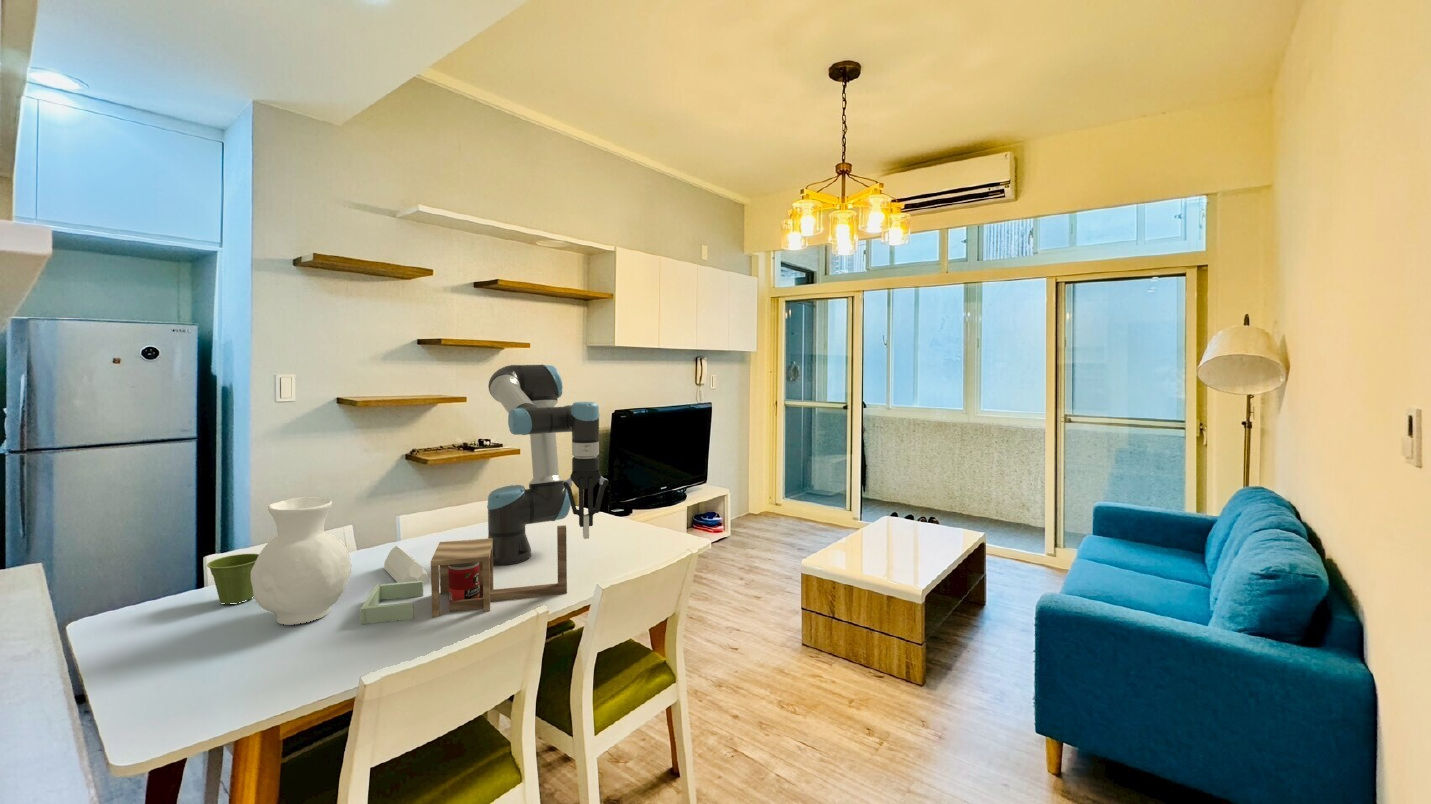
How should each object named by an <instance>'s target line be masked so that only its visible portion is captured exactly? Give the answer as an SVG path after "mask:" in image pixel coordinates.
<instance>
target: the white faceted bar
mask: <svg viewBox="0 0 1431 804" xmlns="http://www.w3.org/2000/svg"><path fill="white" fill-rule="evenodd" d="M383 568H384V570H385V571H386V573H388V574H389V575H390V576H391V577H392V579H394V580H395V582H396V583H401V582H412V581H423V585H425V584H426V583H428V582H429V581H430V579H429V573H427V571H426V570H425V568H424V567H423V566H422V565H421V564H420V563H419V562H418V561H416V560H415V559H414V558H413V557H412V556H411V555H409V553H408V552H407V551H406V550H404V549H403V548H402V547H400V546H398V545H395V546H394V547H392V549H391V550H390V552H389V553H388V555H387V556H386V559H385V560H384V565H383Z"/></svg>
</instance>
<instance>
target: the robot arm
mask: <svg viewBox="0 0 1431 804" xmlns="http://www.w3.org/2000/svg"><path fill="white" fill-rule="evenodd" d="M488 392H489V394H490V396H491V397H492V399H494V401H496V402H498V403H500V404H501V405H502V406H503V408H504V410H505V411H506V412H507V413H508V416H507V426H508V428H509V432H510V433H511V434H512V435H519V436H520V435H522V436H526V435H529V439H530V440H529V441H530V453H531V468H532V479H531V480H530V482H529V483H528V487H529V488H527V489H526V487H525V486H524V485H520V484H516V485H514V484H511V485H506V486H502V487H499V488H496V489H494V490H493V491H491V492H490V493H489V494H488V496H487V505H486V508H487V524H488V525H487V526H488V527H487V530H488V531H487V533H488V534H487V535H488V536H487V539H488V538H493V566H507V565H514V564H519V563H522V562H524V561H528V560H529V559H531V557H532V549H531V545H530V542H529V539H528V537H527V534H526V526H527V525H532V524H538V523H539V524H541V523H546V522H556V521H559V520H563V519H565V518H566V517H567V516H568V515H569V512H570V510H571V511H572V514H573V515H577V516H578V525H579V527H580V528H582V538H583V539H584V540H588V539H590V527H593V524H594V515H595V514H599V513H600V510H601V506H602V501H603V498H604V493H605V490H606V487H607V486H608V484H609V480H608V479H607V478H604V477H603V476H602V474H601V473H600V457H599V455H600V411H599V410H600V408H599V404H598V403H597V402H595V401H575V402H573V403H572V405H564V406H556V405H557V404H558V403H559V402H558V399H560V398H561V397H562V396H563V380H562V376H561V374H560V371H559V370H558V368H557V367H556V366H554V365H548V364H547V365H546V364H544V363H543V364H511V365H506V366H503V367H501V368H499V369H497V370H496V371H495V372H494V373H493V374H492V375H491V377H490V378H489V380H488ZM557 433H571V455H572V456H573V457H572V458H571V470H572V471H571V474H570V477H569V478H567V479H566V480H565V479H564V478H562V476H560V474H559V470H560V469H559V460H558V458H559V457H558V447H557V445H558V444H557V435H556V434H557ZM572 482H573V484H574V485H575V487H576V488H578V509H577V505H576V502H575V497H574V495H573V494H574V493H573V490H572V486H573V484H572ZM598 483H599V488H598V492H597V496H596V500H595V505H594V488H595V487H596V485H597V484H598ZM585 489H587V513H585V512H584V511H585V510H584V509H585V506H584V505H585V503H584V502H585V499H584V498H585V494H584V493H585Z"/></svg>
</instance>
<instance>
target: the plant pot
mask: <svg viewBox="0 0 1431 804" xmlns="http://www.w3.org/2000/svg"><path fill="white" fill-rule="evenodd" d="M259 554H260V553H259ZM259 554H258V553H241V554H233V555H227V556H223V557H220V558H215V559H214V560H211V561H209V562H208V563H207V564H206V567H207V568H209V570H210V572H211V575H212V576H213V581H214V583H215V589H216V591H217V595H218V600H219V603H220V602H221V603H225V605H228V604H230V603H239V602H242V601H245V600H248V599H249V600H252V599H251V598H252V597H253V596H254V594H253V588H252V584H251V570H252V568H253V566H254V564H255V561H256V560H257V558H258V556H259ZM253 598H254V597H253ZM249 600H248V601H249ZM221 603H220V604H221Z"/></svg>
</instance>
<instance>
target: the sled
mask: <svg viewBox="0 0 1431 804" xmlns="http://www.w3.org/2000/svg"><path fill="white" fill-rule="evenodd" d="M556 532H557V533H556V534H557V535H556V538H557V539H556V540H557V543H556V544H557V550H556V551H557V583H547V584H537V585H528V586H527V585H525V586H515V587H507V588H506V587H504V588H495V589H494V588H493V589H490V602H492V601H493V602H494V601H500V600H501V601H503V600H513V599H523V598H533V597H542V596H543V597H544V596H551V595H553V596H554V595H561V594H568V581H567V579H568V576H567V575H568V572H567V569H568V568H567V566H568V565H567V564H568V563H567V561H568V560H567V557H568V556H567V555H568V554H567V547H568V546H567V545H568V544H567V525H557V527H556ZM480 594H483V583H480ZM477 609H478V610H480V609H483V597H480V598H476V599H466V600H456V601H450V602H449V612H450V613H451V612H459V611H469V610H477Z"/></svg>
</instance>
